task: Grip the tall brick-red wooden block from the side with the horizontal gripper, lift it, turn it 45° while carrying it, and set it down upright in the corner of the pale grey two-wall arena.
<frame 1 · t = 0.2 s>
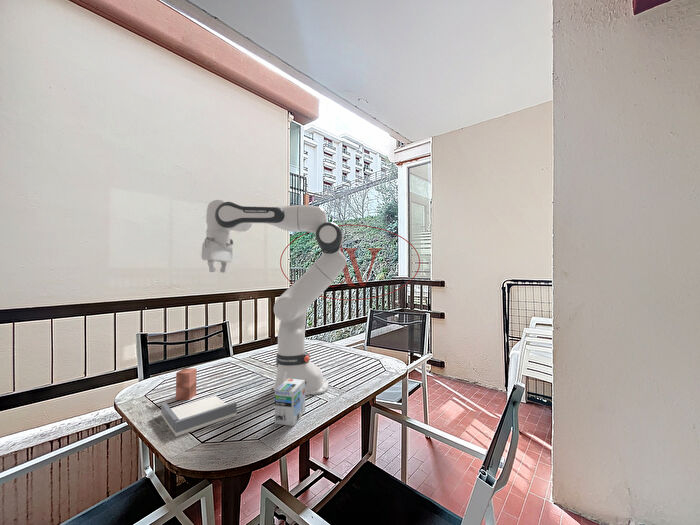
hand: (217, 272, 124), 47 cm above the table, tool pointing down, fingers open, 8 cm apart
light bulb box: (290, 418, 98), on the table
arena: (198, 415, 100), on the table
brick-red block: (186, 397, 114), on the table
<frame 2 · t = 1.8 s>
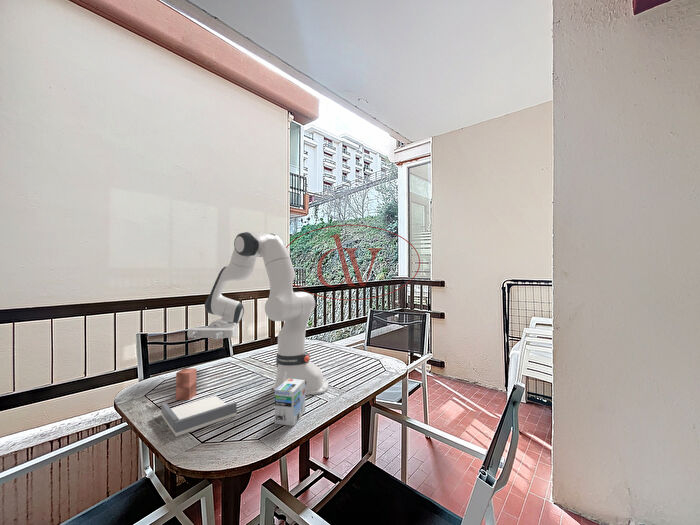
hand: (203, 336, 127), 20 cm above the table, tool horizontal, fingers open, 8 cm apart
nothing on the table moved.
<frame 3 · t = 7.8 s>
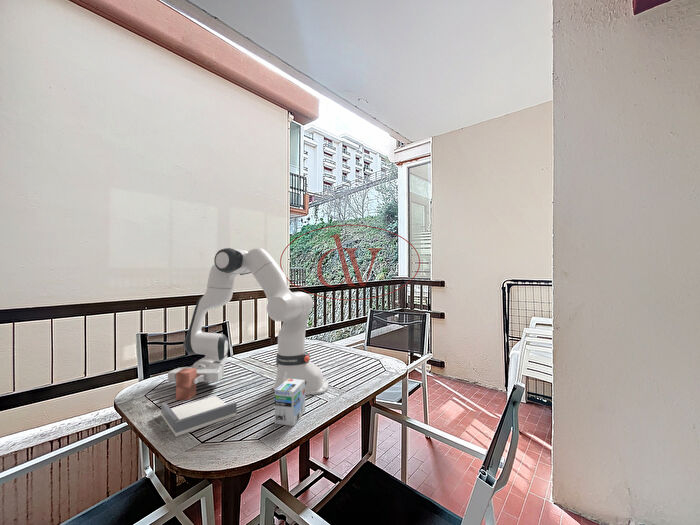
hand: (185, 381, 113), 6 cm above the table, tool horizontal, fingers closed on brick-red block, 5 cm apart
brick-red block: (186, 397, 114), on the table, touching gripper
everything else where it was.
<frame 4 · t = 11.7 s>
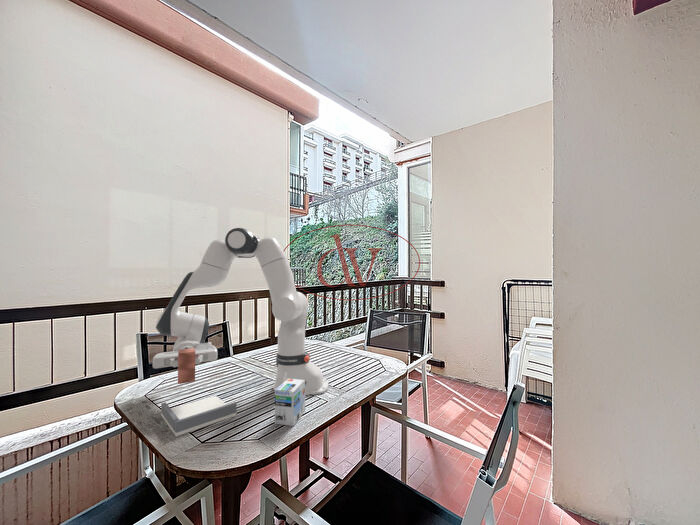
hand: (186, 363, 101), 17 cm above the table, tool horizontal, fingers closed on brick-red block, 5 cm apart
brick-red block: (186, 380, 101), point 11 cm above the table, touching gripper
everything else where it was.
when the fingers open (9 cm above the table, at t = 15.6 s): brick-red block drops 1 cm, resting on arena.
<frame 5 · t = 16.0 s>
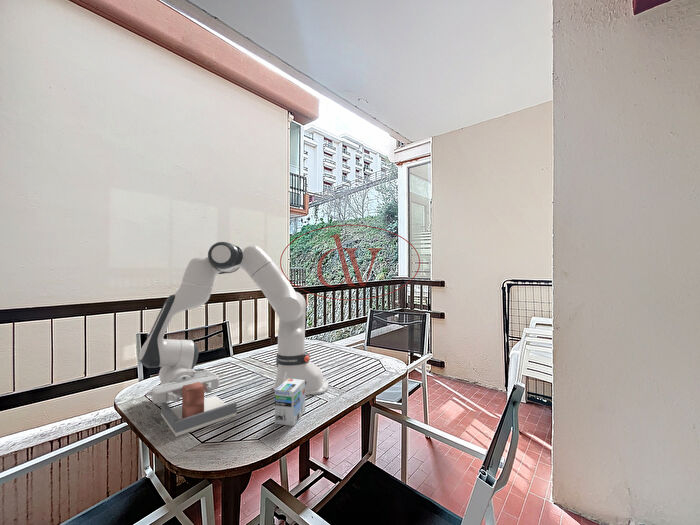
hand: (194, 394, 96), 9 cm above the table, tool horizontal, fingers open, 8 cm apart
brick-red block: (192, 417, 96), point 1 cm above the table, touching arena
everything else where it was.
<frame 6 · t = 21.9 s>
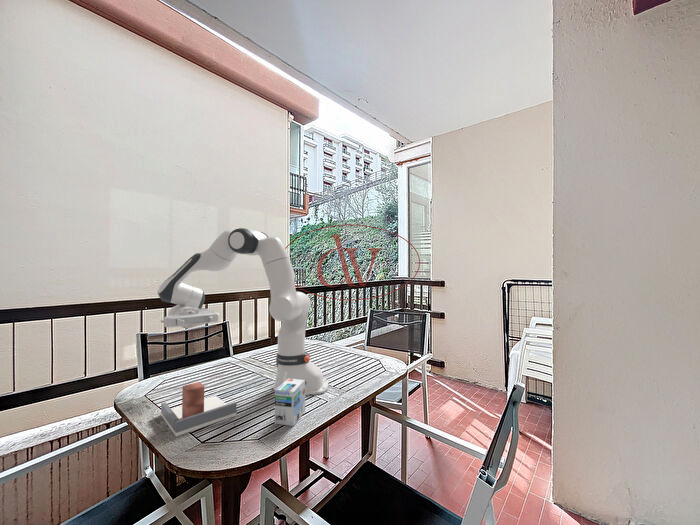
hand: (198, 321, 118), 28 cm above the table, tool horizontal, fingers open, 8 cm apart
nothing on the table moved.
at the end: brick-red block 0.0 cm from the target spot on the arena, point 1.0 cm above the arena's base; brick-red block tilted 0°; the gripper is holding nothing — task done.
